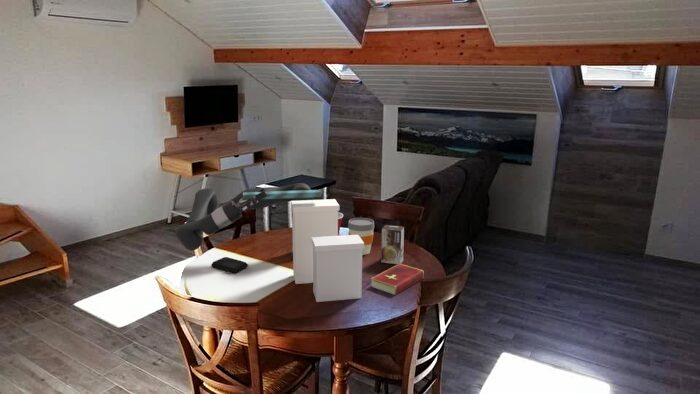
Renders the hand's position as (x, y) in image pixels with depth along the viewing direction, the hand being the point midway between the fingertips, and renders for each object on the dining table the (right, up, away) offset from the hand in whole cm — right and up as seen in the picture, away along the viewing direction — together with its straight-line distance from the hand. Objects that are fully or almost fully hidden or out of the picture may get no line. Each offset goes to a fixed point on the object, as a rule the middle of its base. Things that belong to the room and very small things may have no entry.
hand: (265, 191), depth 181 cm
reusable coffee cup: (+38, -28, +44) cm, 64 cm away
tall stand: (+18, -35, +13) cm, 42 cm away
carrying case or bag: (-20, -33, +22) cm, 44 cm away
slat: (+6, -2, +2) cm, 7 cm away
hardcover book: (+52, -37, +10) cm, 65 cm away
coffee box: (+52, -31, +32) cm, 69 cm away
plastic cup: (+24, -23, +64) cm, 72 cm away
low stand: (+28, -39, -2) cm, 48 cm away
